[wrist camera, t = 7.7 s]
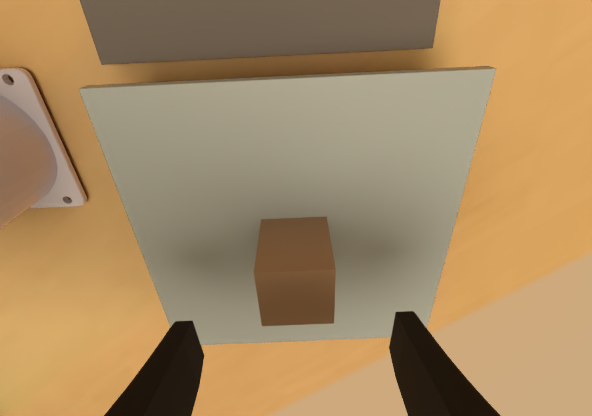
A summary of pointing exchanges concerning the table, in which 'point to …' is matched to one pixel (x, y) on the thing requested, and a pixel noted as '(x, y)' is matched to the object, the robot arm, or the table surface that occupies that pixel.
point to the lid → (293, 195)
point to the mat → (254, 28)
